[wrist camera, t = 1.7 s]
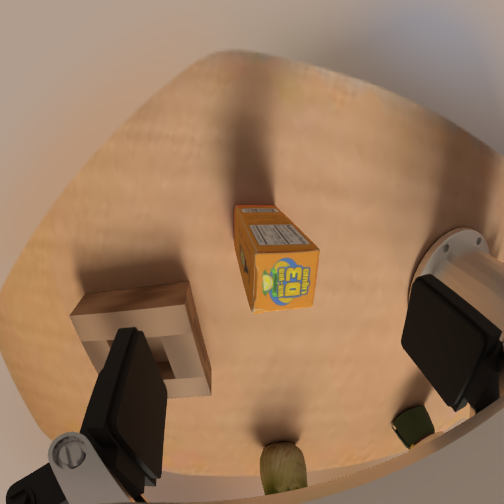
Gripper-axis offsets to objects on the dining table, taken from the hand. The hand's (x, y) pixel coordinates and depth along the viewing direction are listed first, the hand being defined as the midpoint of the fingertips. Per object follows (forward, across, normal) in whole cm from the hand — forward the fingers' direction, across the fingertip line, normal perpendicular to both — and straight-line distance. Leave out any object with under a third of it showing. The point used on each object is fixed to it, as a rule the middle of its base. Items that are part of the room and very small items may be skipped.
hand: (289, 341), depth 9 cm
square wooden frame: (+15, +10, +9) cm, 20 cm away
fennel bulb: (+14, -1, +32) cm, 35 cm away
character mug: (+14, -22, +34) cm, 43 cm away
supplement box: (+14, -1, 0) cm, 14 cm away
